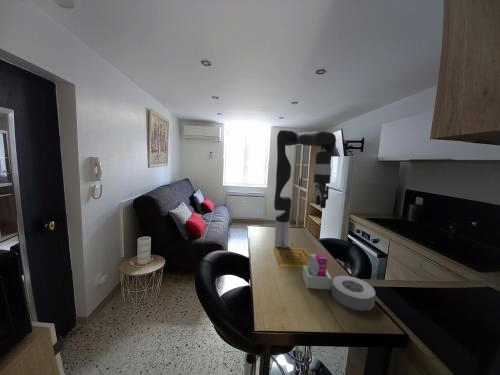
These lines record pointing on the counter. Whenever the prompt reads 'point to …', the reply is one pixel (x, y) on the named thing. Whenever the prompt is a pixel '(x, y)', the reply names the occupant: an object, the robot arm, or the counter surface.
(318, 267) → the supplement box
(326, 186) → the robot arm
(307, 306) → the counter surface
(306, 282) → the holder
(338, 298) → the tape roll
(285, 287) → the counter surface
